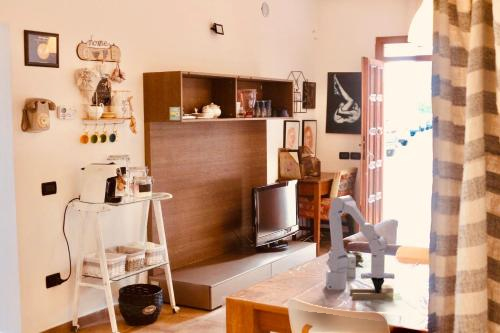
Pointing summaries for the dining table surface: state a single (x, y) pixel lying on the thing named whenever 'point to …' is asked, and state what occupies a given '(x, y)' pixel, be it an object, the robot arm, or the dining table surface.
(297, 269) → the dining table surface
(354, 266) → the light bulb box
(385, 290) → the birch block
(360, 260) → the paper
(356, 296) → the chute
